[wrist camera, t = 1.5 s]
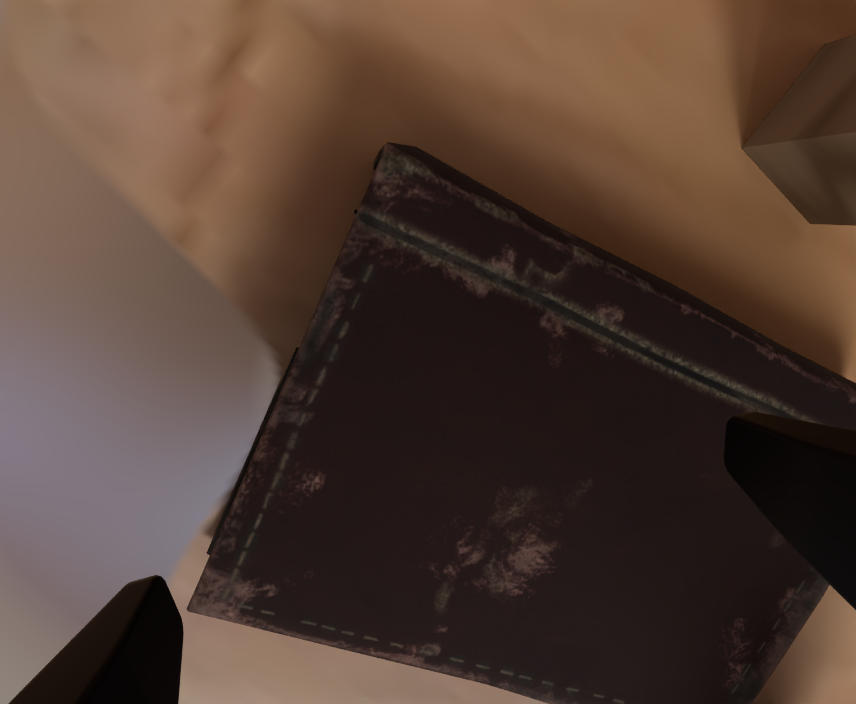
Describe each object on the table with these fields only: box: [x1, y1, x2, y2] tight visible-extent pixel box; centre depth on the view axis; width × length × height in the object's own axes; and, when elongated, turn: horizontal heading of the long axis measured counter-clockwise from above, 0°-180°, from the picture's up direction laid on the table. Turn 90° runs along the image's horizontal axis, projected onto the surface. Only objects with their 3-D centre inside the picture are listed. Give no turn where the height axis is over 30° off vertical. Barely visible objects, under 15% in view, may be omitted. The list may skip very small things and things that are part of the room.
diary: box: [187, 143, 856, 704], centre depth 22 cm, size 19×25×5 cm
